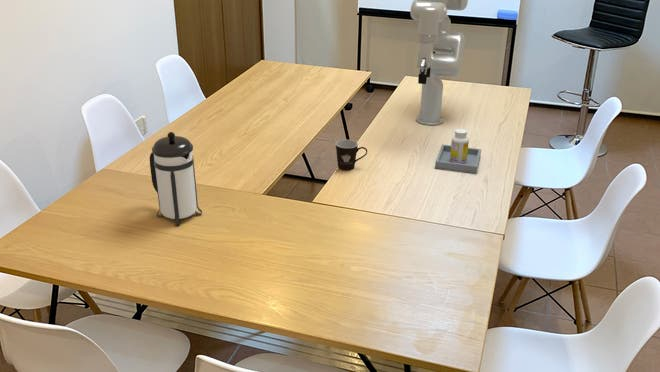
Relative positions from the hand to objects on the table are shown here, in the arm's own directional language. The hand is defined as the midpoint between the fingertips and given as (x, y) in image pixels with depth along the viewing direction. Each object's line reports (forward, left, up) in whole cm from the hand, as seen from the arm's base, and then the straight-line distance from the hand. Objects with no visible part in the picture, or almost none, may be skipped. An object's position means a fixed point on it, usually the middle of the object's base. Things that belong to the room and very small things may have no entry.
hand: (424, 80), depth 261 cm
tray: (+13, +18, -28) cm, 36 cm away
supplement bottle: (+13, +18, -28) cm, 36 cm away
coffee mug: (+32, -22, -28) cm, 48 cm away
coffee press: (+86, -68, -28) cm, 113 cm away
